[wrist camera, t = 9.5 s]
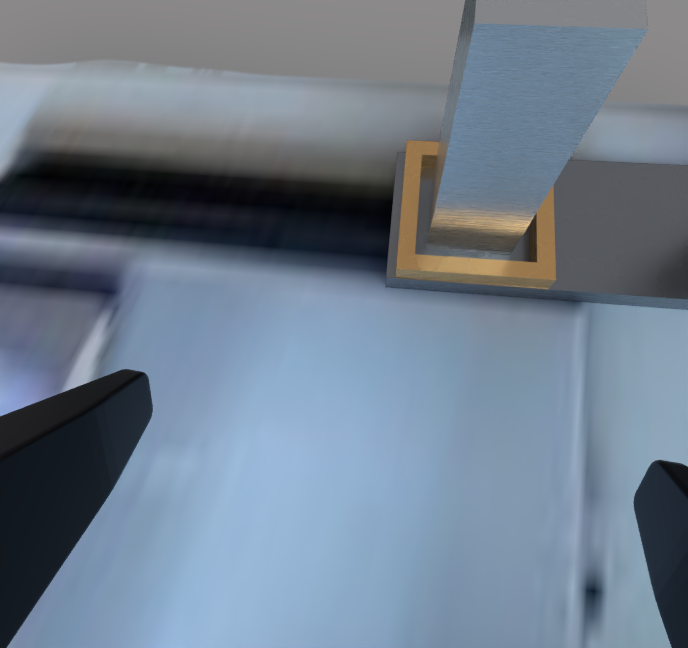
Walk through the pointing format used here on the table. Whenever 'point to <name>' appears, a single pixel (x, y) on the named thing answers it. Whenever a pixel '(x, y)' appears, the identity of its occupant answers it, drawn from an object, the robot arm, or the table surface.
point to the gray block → (521, 110)
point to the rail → (557, 237)
